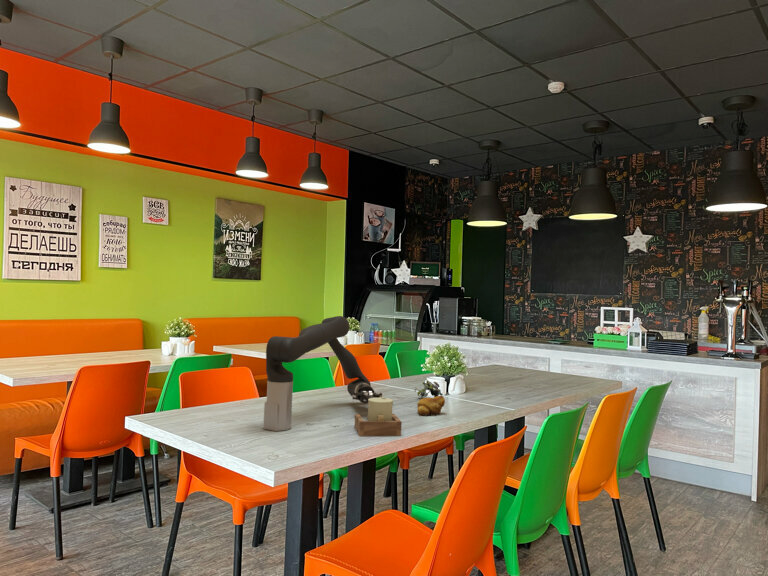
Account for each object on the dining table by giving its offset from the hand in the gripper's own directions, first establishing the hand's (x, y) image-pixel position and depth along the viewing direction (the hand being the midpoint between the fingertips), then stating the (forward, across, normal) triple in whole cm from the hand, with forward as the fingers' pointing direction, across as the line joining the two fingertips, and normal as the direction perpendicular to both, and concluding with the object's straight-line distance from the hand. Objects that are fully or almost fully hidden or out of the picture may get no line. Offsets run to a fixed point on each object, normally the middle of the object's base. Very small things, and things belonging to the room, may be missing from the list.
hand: (370, 399), depth 218 cm
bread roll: (-14, +28, +8) cm, 32 cm away
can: (+15, +1, +9) cm, 18 cm away
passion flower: (-46, +36, +8) cm, 59 cm away
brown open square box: (+15, 0, +9) cm, 18 cm away
